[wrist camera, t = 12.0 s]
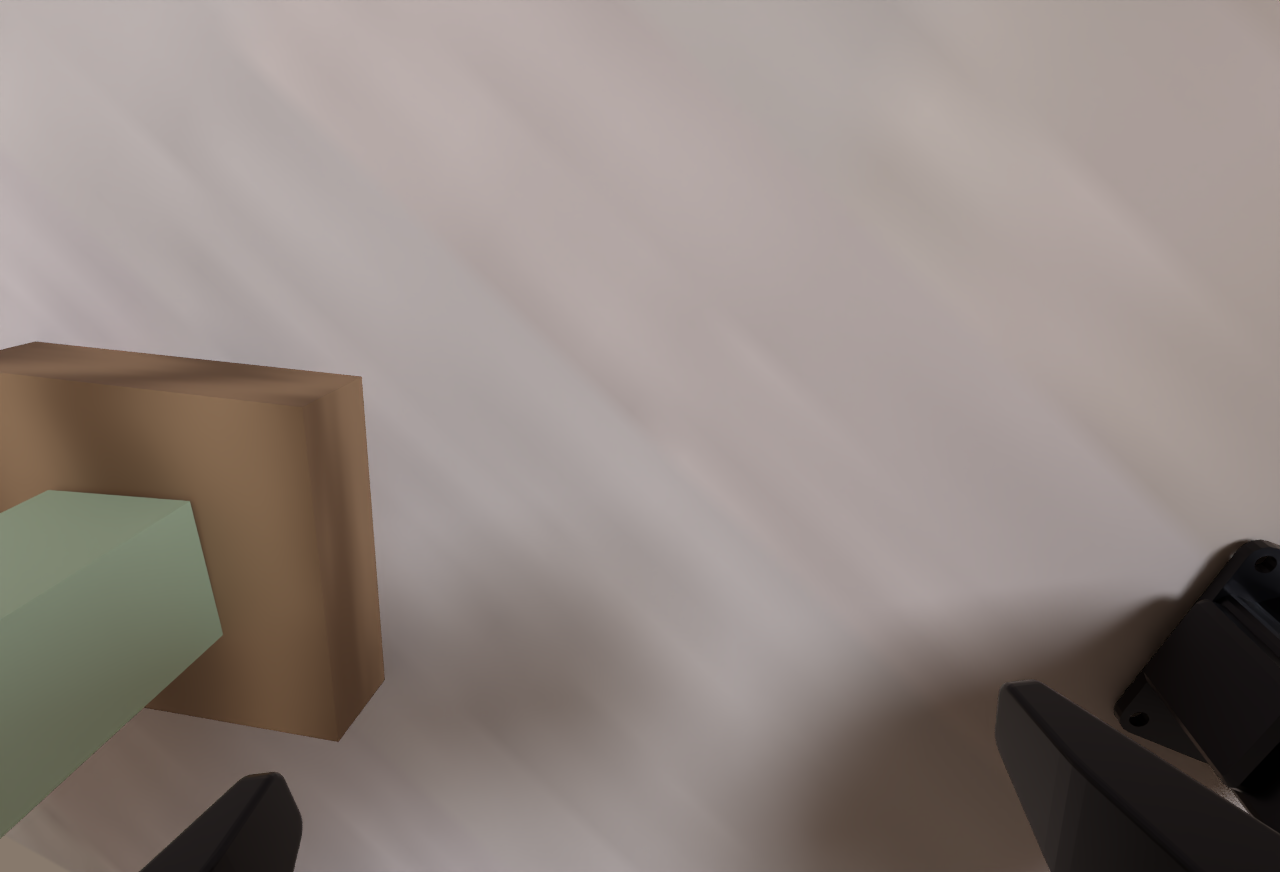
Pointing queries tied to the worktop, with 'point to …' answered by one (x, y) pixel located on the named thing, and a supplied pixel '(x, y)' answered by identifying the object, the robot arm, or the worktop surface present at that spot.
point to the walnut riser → (225, 512)
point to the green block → (90, 627)
